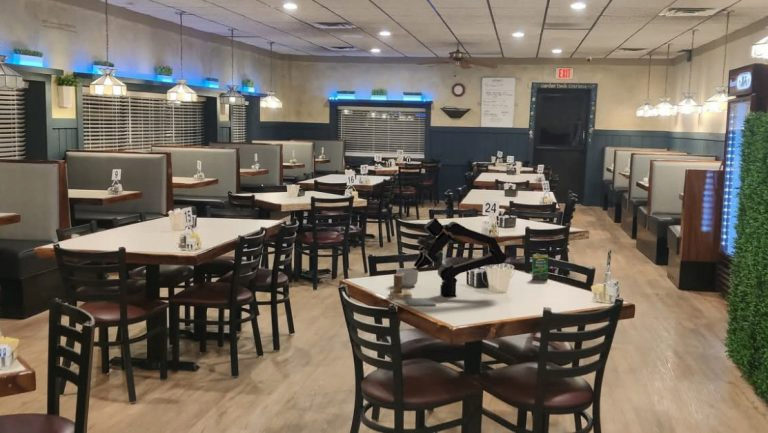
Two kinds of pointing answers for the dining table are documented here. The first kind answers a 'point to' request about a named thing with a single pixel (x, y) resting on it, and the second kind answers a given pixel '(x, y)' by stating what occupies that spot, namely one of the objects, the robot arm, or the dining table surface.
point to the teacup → (408, 276)
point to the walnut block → (397, 283)
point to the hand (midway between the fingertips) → (415, 267)
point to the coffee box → (540, 267)
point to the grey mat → (420, 302)
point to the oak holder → (401, 294)
